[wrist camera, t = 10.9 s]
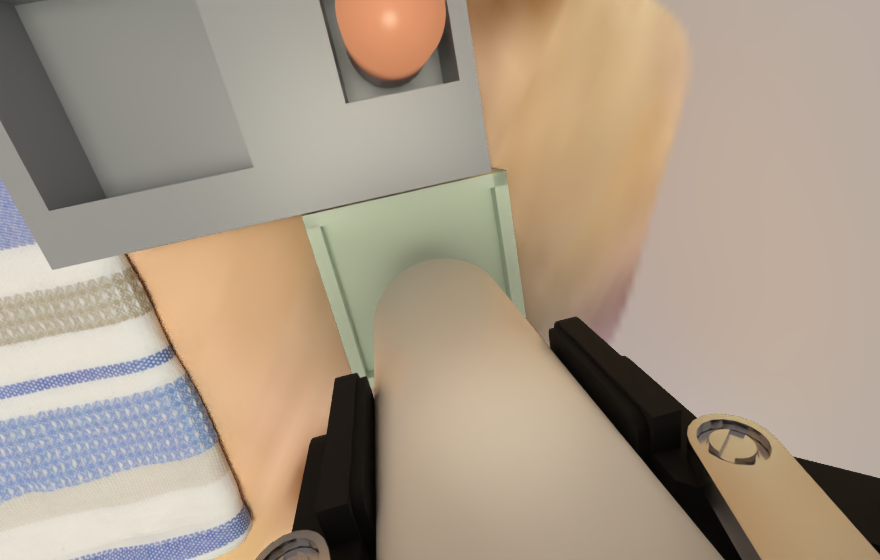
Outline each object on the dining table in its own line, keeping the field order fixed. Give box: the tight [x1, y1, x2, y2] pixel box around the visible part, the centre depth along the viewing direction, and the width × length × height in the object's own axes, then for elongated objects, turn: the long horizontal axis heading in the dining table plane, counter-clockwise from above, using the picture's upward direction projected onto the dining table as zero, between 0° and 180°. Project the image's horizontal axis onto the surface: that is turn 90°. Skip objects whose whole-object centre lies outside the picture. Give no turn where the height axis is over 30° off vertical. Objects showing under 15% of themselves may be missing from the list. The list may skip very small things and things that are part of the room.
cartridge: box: [374, 258, 724, 560], centre depth 9 cm, size 5×5×13 cm
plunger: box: [335, 0, 446, 88], centre depth 13 cm, size 3×3×4 cm
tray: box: [302, 168, 526, 389], centre depth 20 cm, size 9×9×2 cm
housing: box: [0, 0, 492, 270], centre depth 15 cm, size 10×15×5 cm, turn 101°
